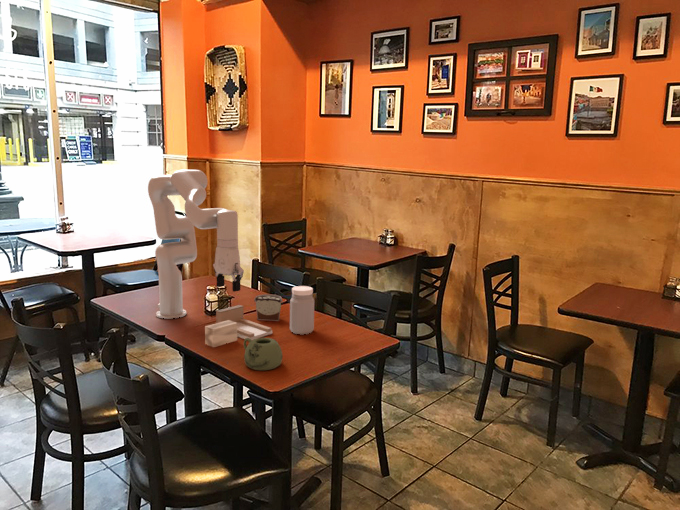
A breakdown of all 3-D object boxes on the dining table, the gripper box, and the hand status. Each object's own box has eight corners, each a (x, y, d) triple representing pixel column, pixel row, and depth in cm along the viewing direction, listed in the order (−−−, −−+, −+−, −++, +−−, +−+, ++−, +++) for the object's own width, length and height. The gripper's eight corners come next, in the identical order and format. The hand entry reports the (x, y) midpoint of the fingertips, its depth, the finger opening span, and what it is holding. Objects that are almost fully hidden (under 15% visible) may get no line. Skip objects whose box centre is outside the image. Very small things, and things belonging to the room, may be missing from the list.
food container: (285, 316, 236) (285, 294, 234) (282, 321, 230) (282, 298, 228) (257, 315, 237) (257, 293, 235) (254, 319, 231) (254, 296, 229)
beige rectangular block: (205, 344, 200) (205, 326, 199) (229, 337, 208) (228, 320, 207) (213, 347, 197) (213, 329, 196) (237, 340, 205) (237, 322, 204)
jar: (285, 333, 214) (285, 289, 211) (295, 326, 223) (296, 284, 220) (307, 336, 211) (308, 292, 208) (317, 329, 220) (318, 286, 217)
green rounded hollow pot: (290, 364, 184) (290, 340, 182) (263, 375, 173) (263, 350, 172) (257, 352, 193) (257, 329, 191) (229, 363, 183) (229, 338, 181)
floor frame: (216, 328, 217) (216, 310, 216) (239, 322, 226) (239, 304, 225) (249, 340, 205) (249, 321, 203) (272, 333, 214) (272, 315, 212)
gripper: (205, 241, 202) (206, 286, 205) (233, 247, 191) (234, 294, 194) (222, 240, 207) (222, 283, 210) (250, 245, 196) (250, 291, 199)
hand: (228, 288), depth 202 cm, fingers open, 9 cm apart
